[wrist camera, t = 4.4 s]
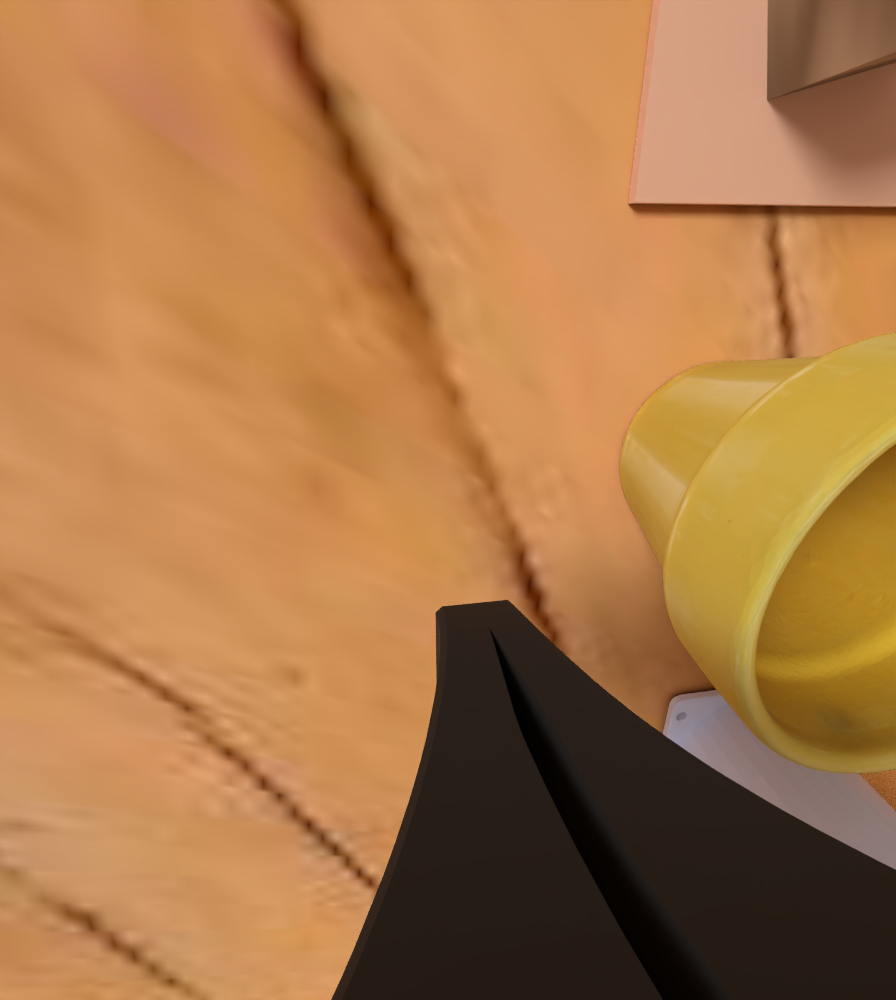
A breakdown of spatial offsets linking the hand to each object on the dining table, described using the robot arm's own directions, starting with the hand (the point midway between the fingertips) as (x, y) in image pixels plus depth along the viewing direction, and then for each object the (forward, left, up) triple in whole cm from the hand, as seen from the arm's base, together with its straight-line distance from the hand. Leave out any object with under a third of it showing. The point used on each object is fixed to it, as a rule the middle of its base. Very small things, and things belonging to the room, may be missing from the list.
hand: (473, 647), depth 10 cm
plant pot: (0, -11, -10) cm, 14 cm away
